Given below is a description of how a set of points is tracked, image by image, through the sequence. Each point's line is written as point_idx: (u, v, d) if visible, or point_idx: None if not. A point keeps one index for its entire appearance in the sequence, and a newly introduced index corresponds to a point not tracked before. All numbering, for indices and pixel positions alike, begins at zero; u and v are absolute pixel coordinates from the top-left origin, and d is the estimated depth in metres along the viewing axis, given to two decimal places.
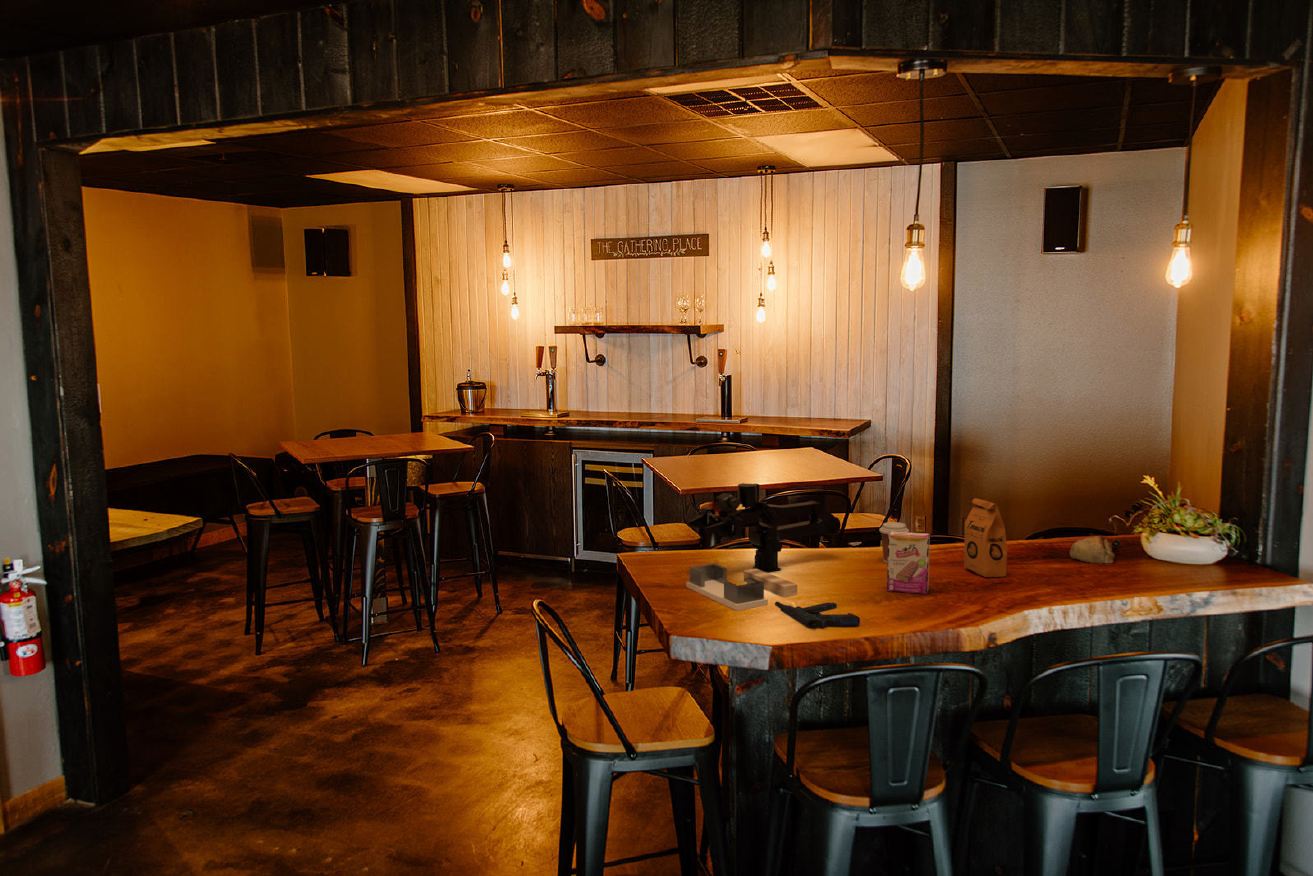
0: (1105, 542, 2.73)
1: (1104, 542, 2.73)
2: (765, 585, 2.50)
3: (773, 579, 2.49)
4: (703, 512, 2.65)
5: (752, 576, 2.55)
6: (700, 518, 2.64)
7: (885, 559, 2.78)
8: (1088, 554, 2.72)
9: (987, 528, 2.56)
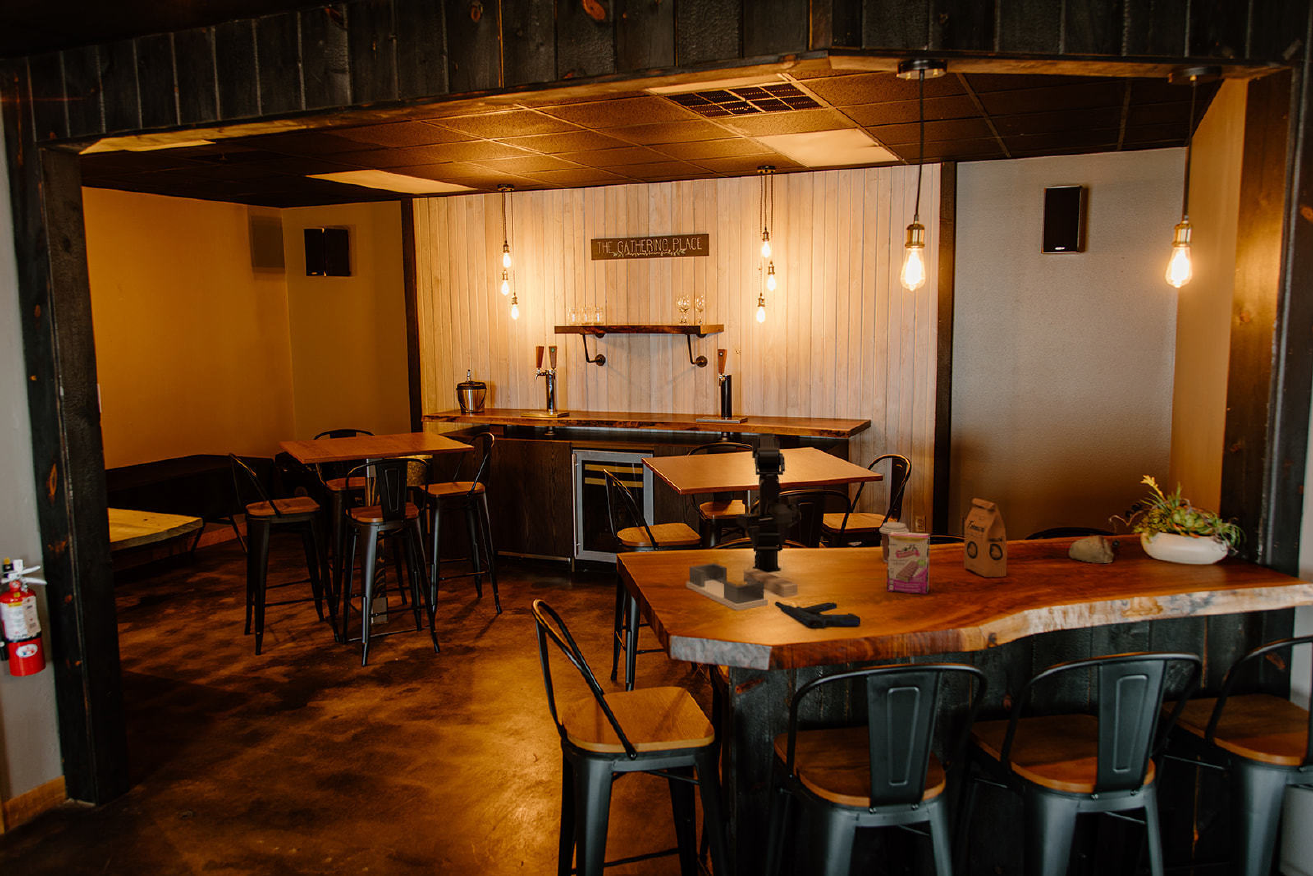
0: (1104, 542, 2.73)
1: (1103, 542, 2.74)
2: (765, 585, 2.49)
3: (773, 579, 2.49)
4: (756, 529, 2.45)
5: (752, 576, 2.55)
6: None
7: (885, 559, 2.78)
8: (1088, 554, 2.72)
9: (987, 528, 2.56)
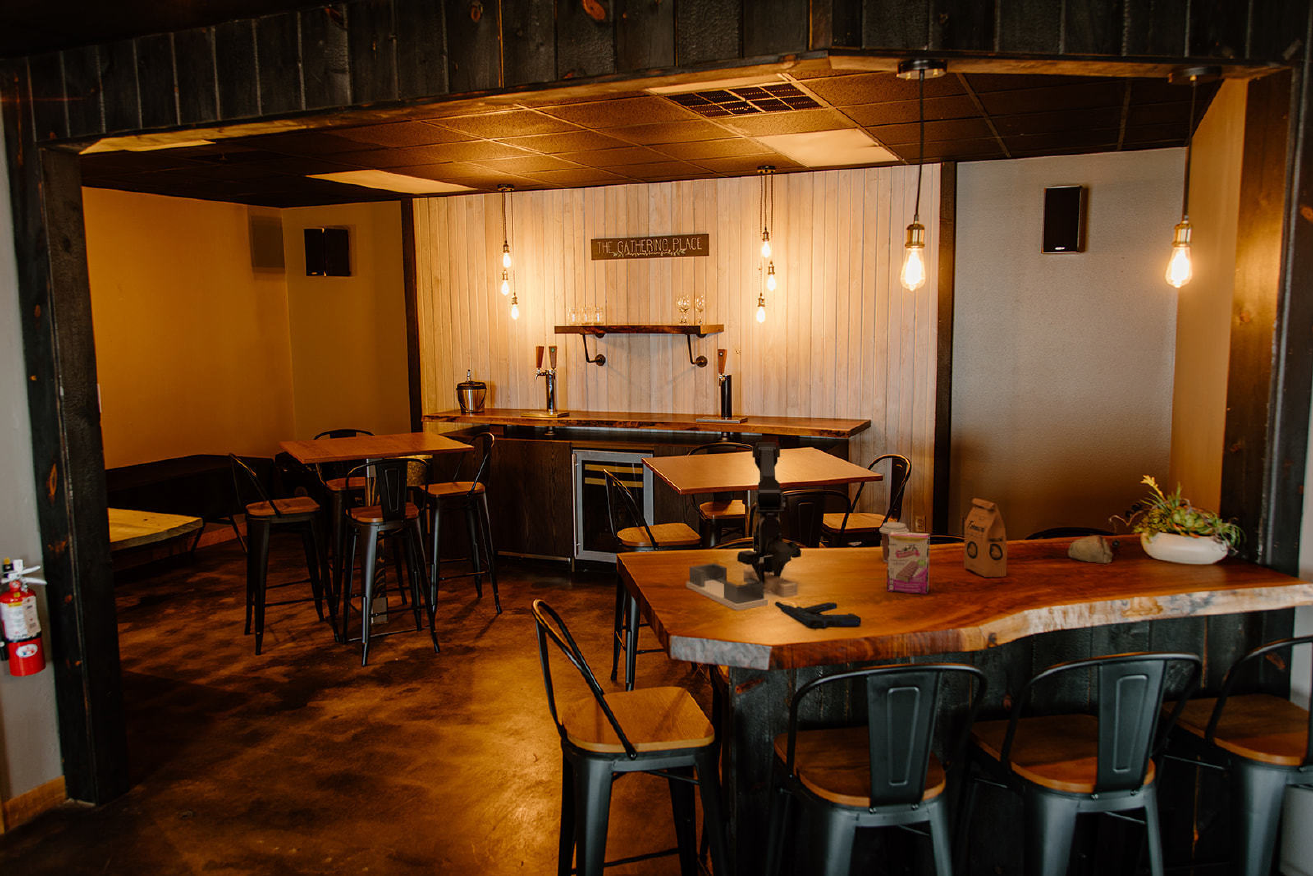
0: (1103, 541, 2.74)
1: (1102, 541, 2.74)
2: (765, 585, 2.49)
3: (773, 579, 2.49)
4: (763, 566, 2.47)
5: (752, 575, 2.55)
6: None
7: (885, 559, 2.78)
8: (1087, 553, 2.73)
9: (987, 528, 2.56)
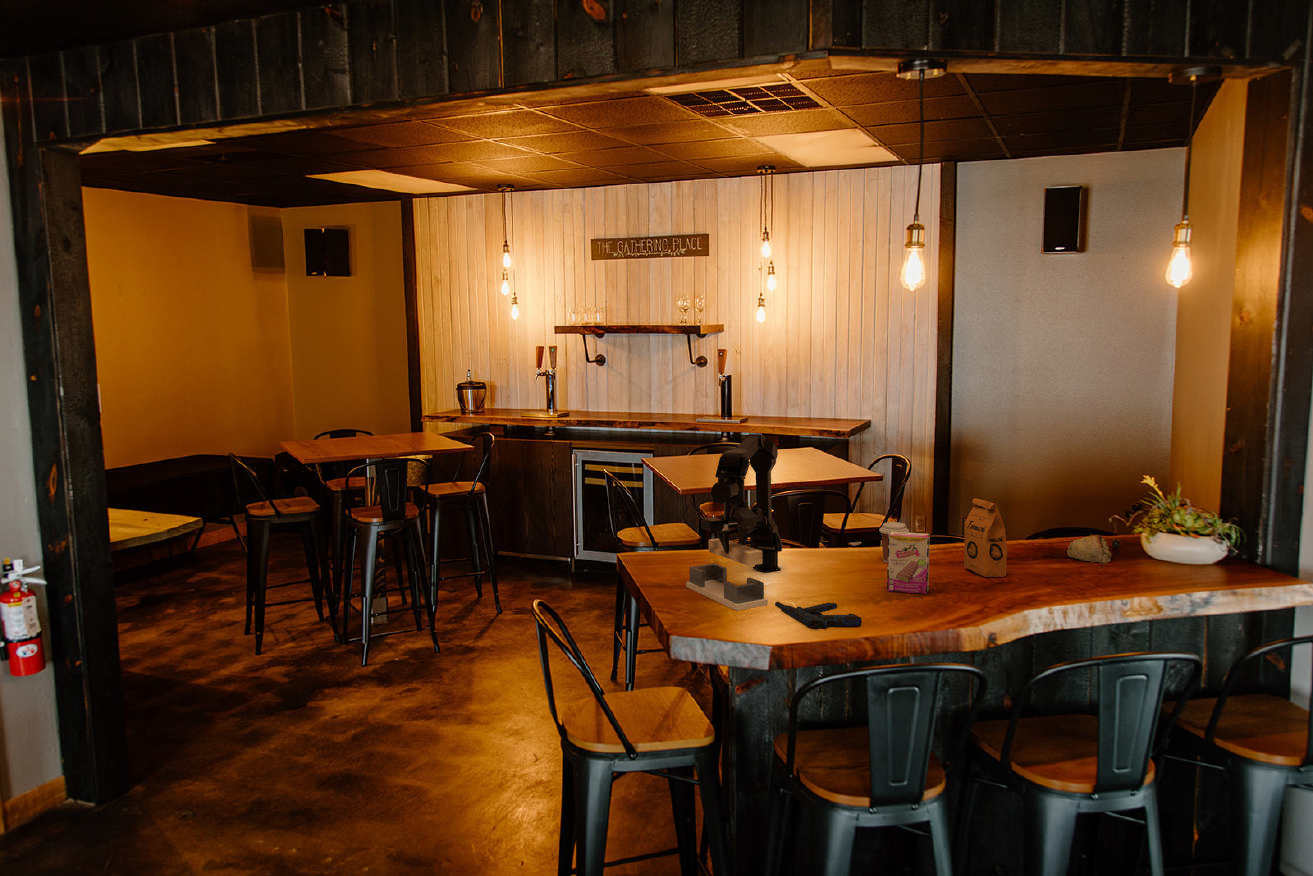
0: (1103, 541, 2.74)
1: (1102, 541, 2.75)
2: (730, 553, 2.42)
3: (738, 547, 2.42)
4: (727, 534, 2.40)
5: (717, 544, 2.48)
6: None
7: (885, 559, 2.78)
8: (1086, 553, 2.73)
9: (987, 528, 2.56)
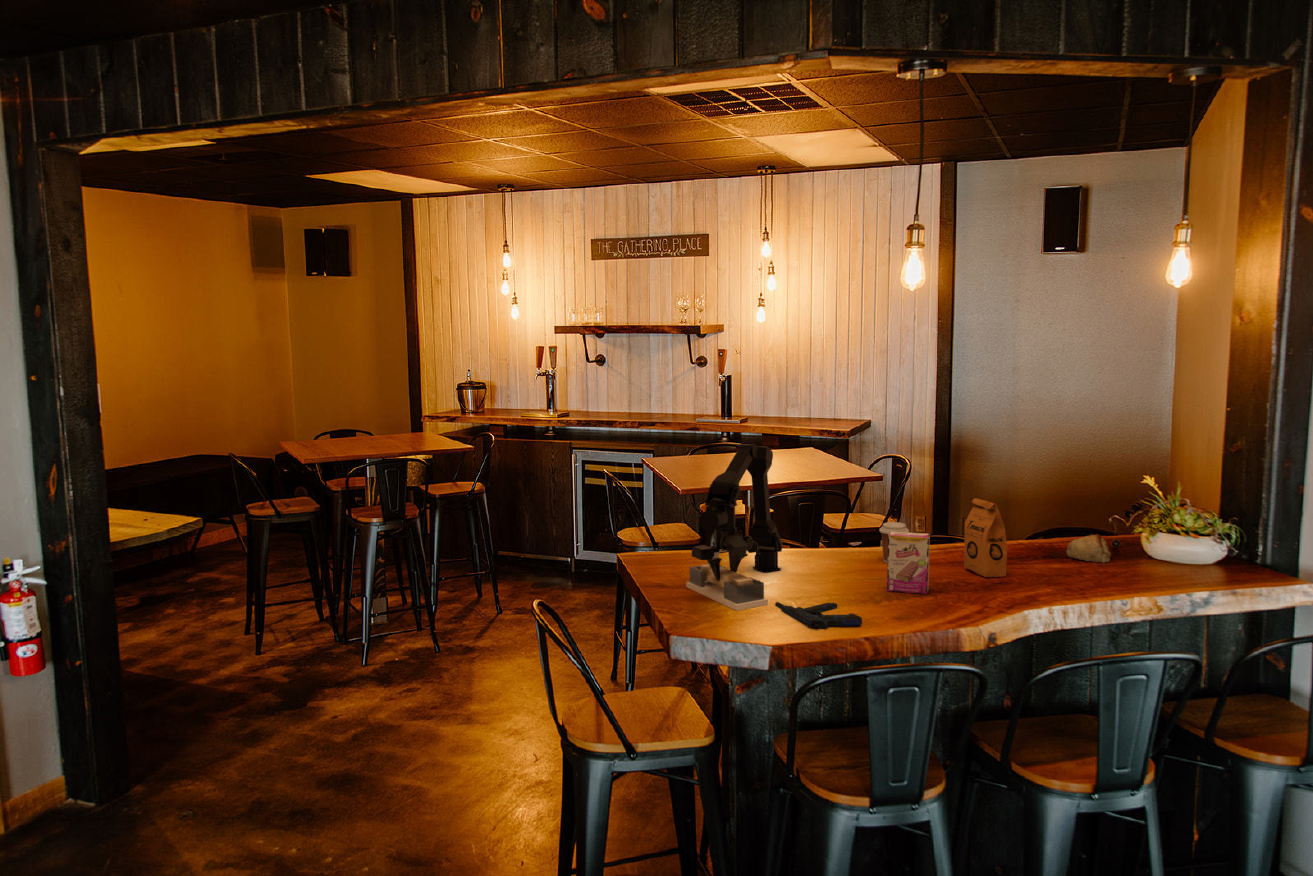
0: (1102, 541, 2.75)
1: (1101, 541, 2.75)
2: (721, 580, 2.42)
3: (729, 574, 2.41)
4: (718, 561, 2.40)
5: (709, 570, 2.48)
6: None
7: (885, 559, 2.78)
8: (1086, 553, 2.73)
9: (987, 528, 2.56)
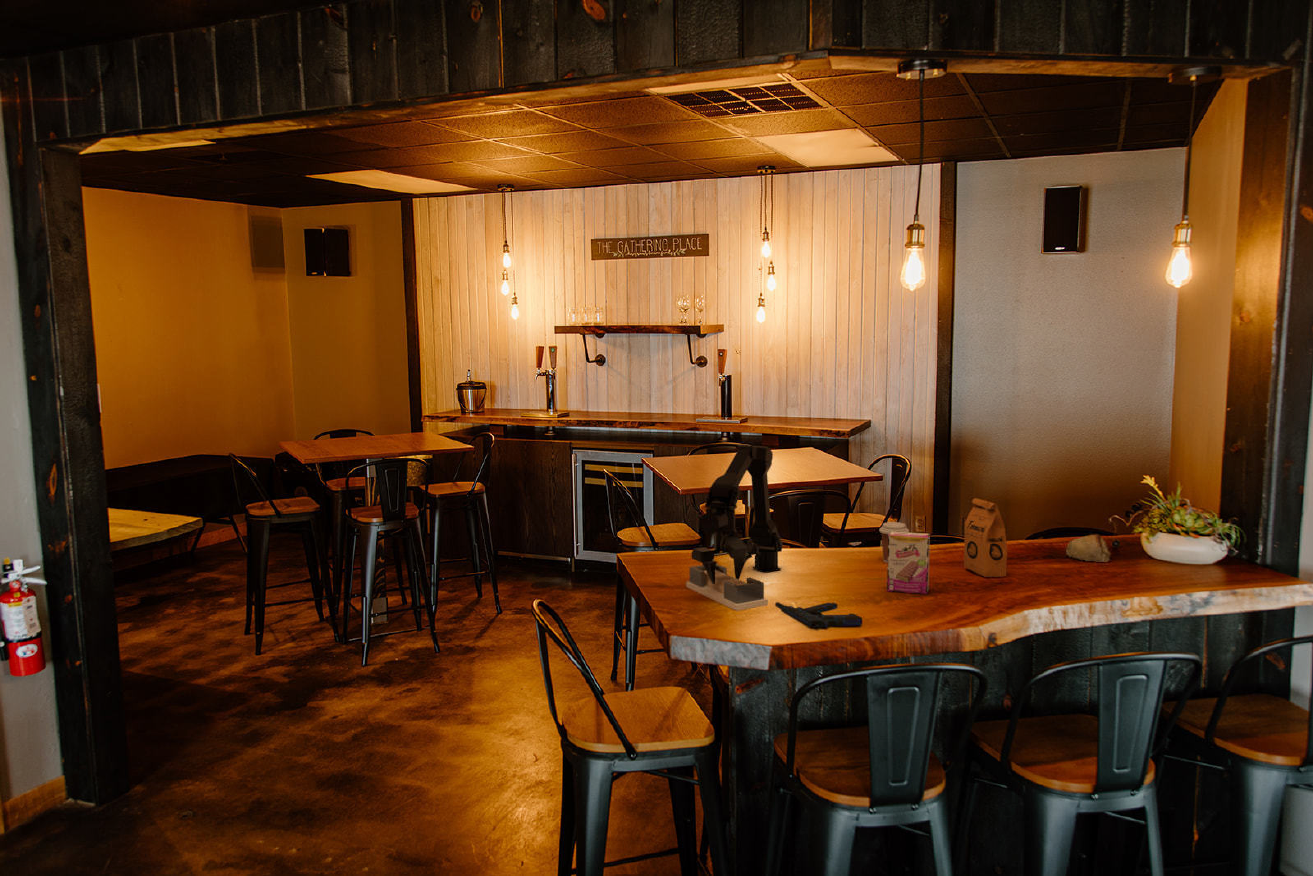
0: (1101, 541, 2.75)
1: (1100, 541, 2.75)
2: (721, 586, 2.42)
3: (729, 580, 2.42)
4: (713, 564, 2.39)
5: None
6: None
7: (885, 559, 2.78)
8: (1085, 553, 2.73)
9: (987, 528, 2.56)
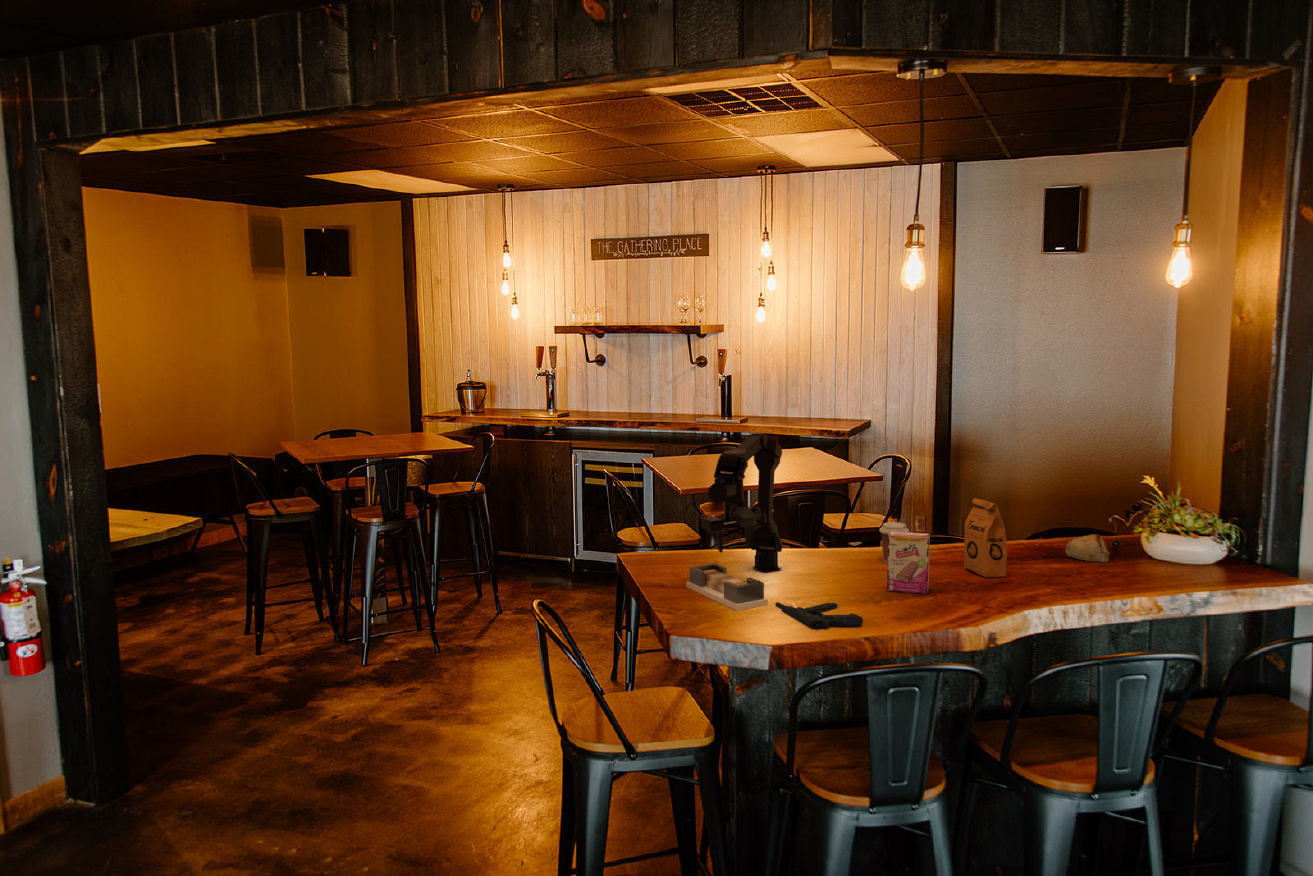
0: (1101, 540, 2.75)
1: (1100, 540, 2.75)
2: (721, 586, 2.42)
3: (729, 580, 2.42)
4: (720, 534, 2.45)
5: (709, 576, 2.48)
6: None
7: (885, 559, 2.78)
8: (1085, 552, 2.74)
9: (987, 528, 2.56)
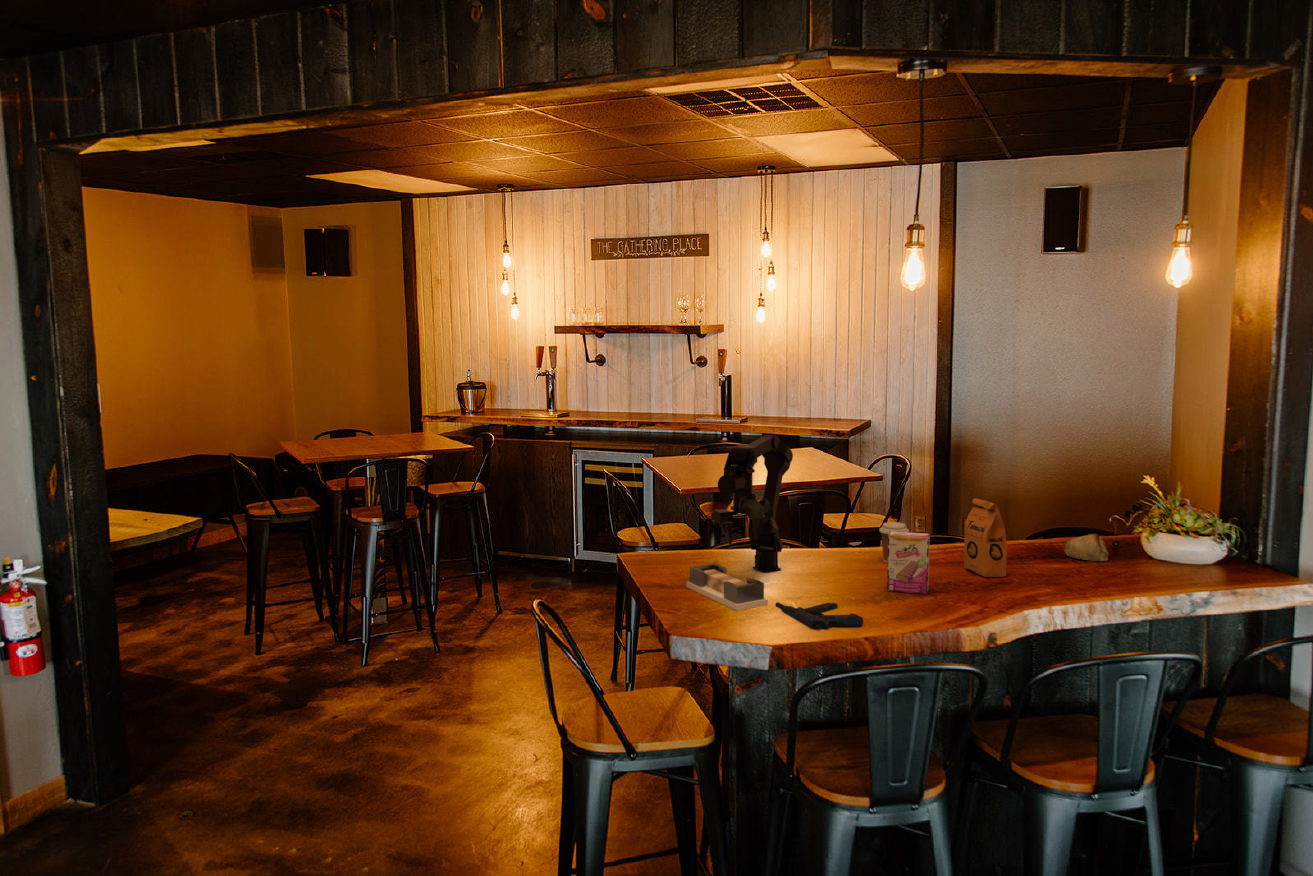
0: (1100, 540, 2.76)
1: (1099, 540, 2.76)
2: (721, 586, 2.42)
3: (729, 580, 2.42)
4: (730, 525, 2.52)
5: (709, 576, 2.48)
6: None
7: (885, 559, 2.78)
8: (1084, 552, 2.74)
9: (987, 528, 2.56)
